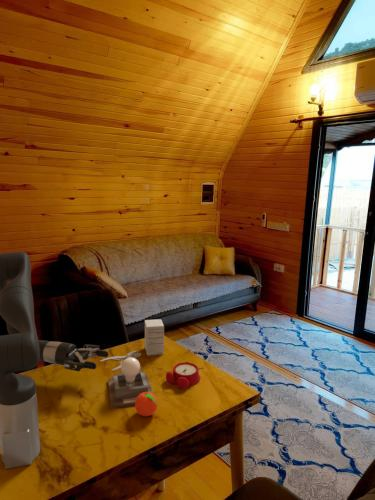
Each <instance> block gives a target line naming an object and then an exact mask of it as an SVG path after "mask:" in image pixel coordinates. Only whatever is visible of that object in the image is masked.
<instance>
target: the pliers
mask: <svg viewBox="0 0 375 500" xmlns="http://www.w3.org/2000/svg"><path fill="white" fill-rule="evenodd" d="M141 356H142V354H141V352H138V350H136V349H135V350H134V351H130V352H128V353H127V354H126V355H122V356H121V355H120V356H119V355H118V356H117V355H116V356H110V357H109V356H108V357H105V358H104V359H101V360H99V362H100V363H102V362H106V361H109V360H112V361H113V360H114V361H120V365H118V366H117V367H115V368H113V369H111V372H114V371H117V370H121V365H122V362H123V361H124V360H125V359H126V358H129V357H133V358H135V359H137V358H140V357H141ZM123 359H124V360H123Z"/></svg>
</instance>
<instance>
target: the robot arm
mask: <svg viewBox="0 0 375 500" xmlns="http://www.w3.org/2000/svg"><path fill="white" fill-rule="evenodd" d="M8 281H9V282H8ZM34 303H35V302H34V295H33V288H32V266H31V259H30V256H29V255H28V254H27V253H26V252H24V251H16V252H15V251H14V252H13V251H12V252H6V253H5V252H4V253H3V252H1V253H0V316H1V318H2V319H3V320H4V321H5V322H6V329H7V333H8V334H5V335H0V455H1V461H2V463H3V464H4V468H5V470H6V469H12V468H13V469H14V468H18V467H22V466H23V467H25V466H29V465H32V464H33V461H34V460H35V459H36V458H37V457H39V454H40V452H41V441H40V439H41V438H40V430H39V429H40V428H39V427H40V426H39V414H38V413H39V412H38V399H37V398H38V397H37V385H36V381H35V379H34V378H32V377H30V376H28V375H24V374H18V373H19V372H24V371H28V370H31V369H34V368H36V367H37V366H39V365H38V364H39V362H47V363H50V364H53V365H58V366H59V365H60V366H64V369H66V370H69V371H75V372H81V370H85V369H88V370H96V369H97V363H96V361H95V362H94V361H91V360H90V361H88V360H89V359H92V358H93V357H102V358H109V351H108V350H104V349H100V348H101V347H100V345H96V344H88V343H87V344H86V343H85V344H84V345H83V348H82V347H81V348H78V347H77V345H75V344H73V343H68V342H61V341H49V340H43V339H42V340H41V339H39V337H38V333H37V328H36V322H35V321H36V320H35V304H34ZM17 372H18V373H17ZM16 373H17V374H16Z"/></svg>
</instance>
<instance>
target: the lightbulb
mask: <svg viewBox="0 0 375 500" xmlns="http://www.w3.org/2000/svg"><path fill="white" fill-rule="evenodd" d="M121 364H122V365H121ZM121 364H120V365H121V368H120V370H121V374H122V373H123V374H124V376H125V379H126V388H128V387H134V380H135V377H136V375H137V374H138V373H139V371H141V363H140V362H139V360H138V359H137V358H133V357H129V358H124V360H123V362H122V363H121Z"/></svg>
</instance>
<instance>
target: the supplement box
mask: <svg viewBox="0 0 375 500" xmlns="http://www.w3.org/2000/svg"><path fill="white" fill-rule="evenodd" d="M144 348H145V349H144V350H145V353H146V354H145V355H146V356H157V355H158V356H159V355H164V354H165V325H164V323H163V320H162V319H145V320H144Z"/></svg>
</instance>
